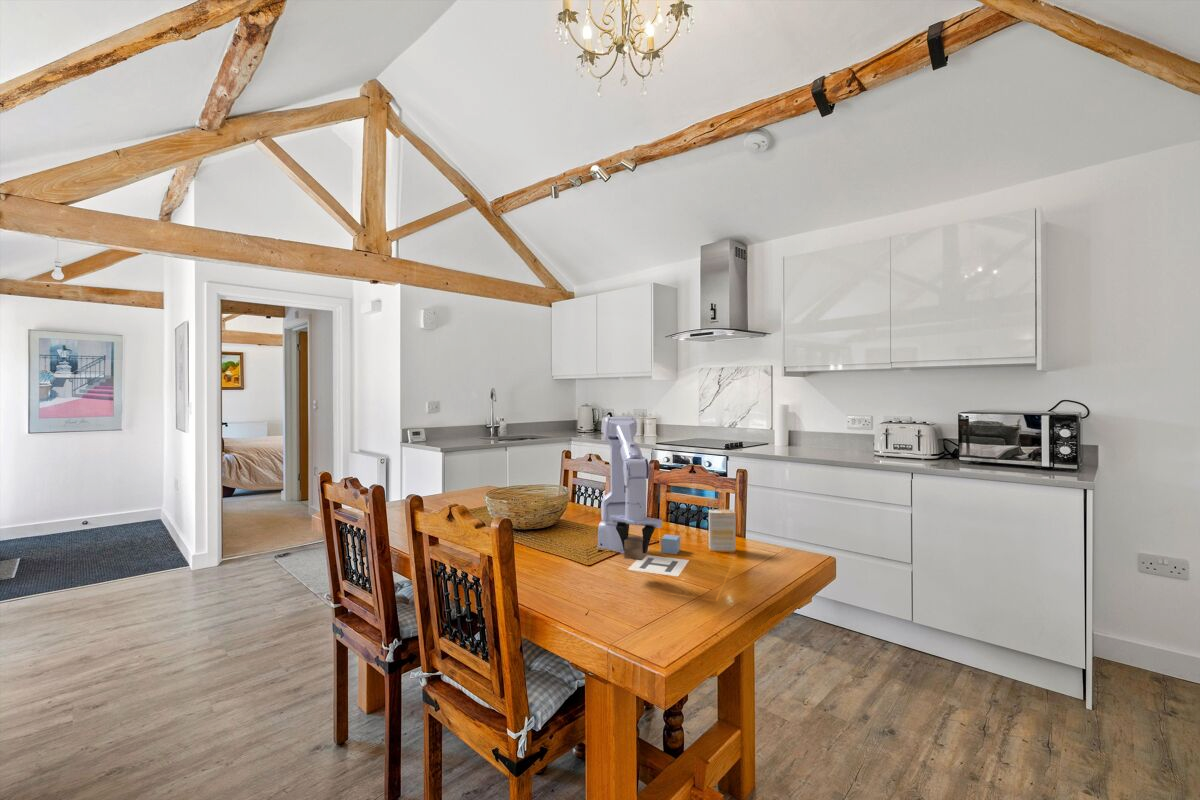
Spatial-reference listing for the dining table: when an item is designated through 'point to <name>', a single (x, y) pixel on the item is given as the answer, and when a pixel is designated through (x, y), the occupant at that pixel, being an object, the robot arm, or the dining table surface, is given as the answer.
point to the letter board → (659, 565)
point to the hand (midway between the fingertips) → (635, 551)
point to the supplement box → (722, 530)
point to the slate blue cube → (670, 544)
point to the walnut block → (634, 548)
